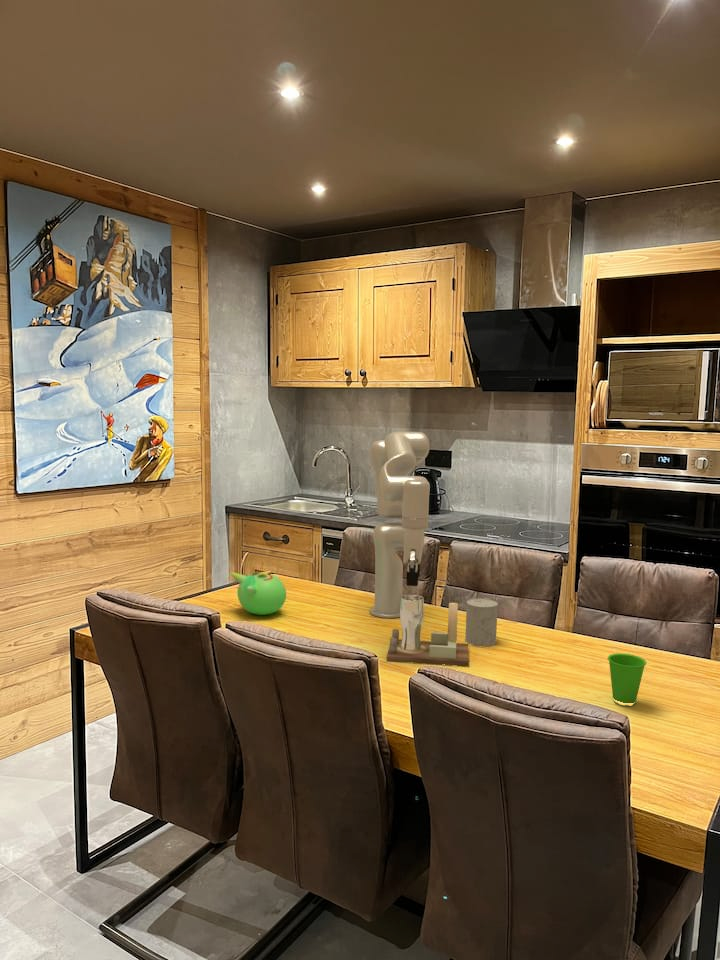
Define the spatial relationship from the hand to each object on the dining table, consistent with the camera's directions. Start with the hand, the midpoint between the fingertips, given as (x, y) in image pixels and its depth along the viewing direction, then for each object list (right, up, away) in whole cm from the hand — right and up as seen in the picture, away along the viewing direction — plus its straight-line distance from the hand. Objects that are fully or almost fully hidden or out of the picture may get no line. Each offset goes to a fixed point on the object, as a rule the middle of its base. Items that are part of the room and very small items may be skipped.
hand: (413, 581), depth 211 cm
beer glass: (0, -20, +2) cm, 20 cm away
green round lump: (-49, -17, +39) cm, 65 cm away
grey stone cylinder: (+22, -21, +14) cm, 33 cm away
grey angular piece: (+9, -20, +1) cm, 22 cm away
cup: (+50, -26, -30) cm, 64 cm away
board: (+5, -22, +1) cm, 22 cm away
